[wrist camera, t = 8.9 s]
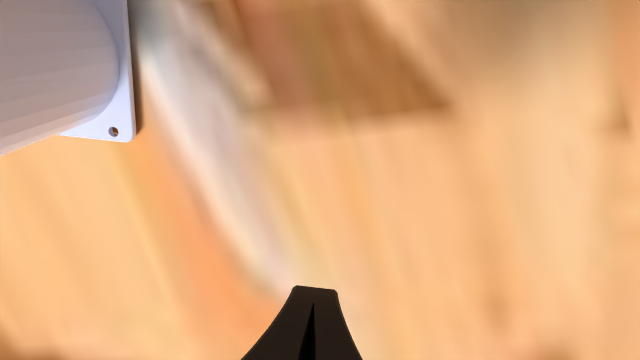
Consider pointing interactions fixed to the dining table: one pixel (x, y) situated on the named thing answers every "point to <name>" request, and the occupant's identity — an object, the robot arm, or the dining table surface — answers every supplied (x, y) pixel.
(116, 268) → the dining table surface
